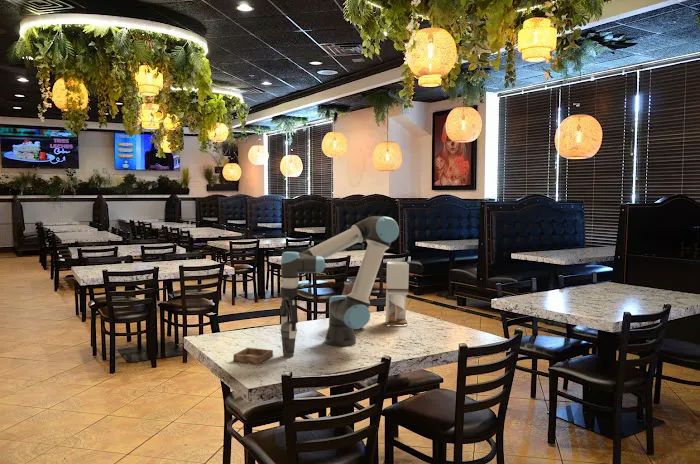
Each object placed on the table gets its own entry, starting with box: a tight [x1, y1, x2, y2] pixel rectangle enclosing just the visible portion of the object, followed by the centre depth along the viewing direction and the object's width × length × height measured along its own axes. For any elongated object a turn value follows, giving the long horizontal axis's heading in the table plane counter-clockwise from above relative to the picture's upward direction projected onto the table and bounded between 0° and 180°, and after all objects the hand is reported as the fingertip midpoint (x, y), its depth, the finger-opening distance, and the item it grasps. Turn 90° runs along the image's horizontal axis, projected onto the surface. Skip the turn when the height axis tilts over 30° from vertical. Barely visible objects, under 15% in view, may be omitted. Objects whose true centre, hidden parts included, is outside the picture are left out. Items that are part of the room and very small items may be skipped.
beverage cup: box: [280, 320, 298, 359], centre depth 239 cm, size 7×7×20 cm
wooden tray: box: [232, 347, 274, 366], centre depth 234 cm, size 12×12×3 cm
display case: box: [385, 261, 410, 326], centre depth 306 cm, size 11×11×35 cm
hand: (288, 334), depth 239 cm, fingers open, 13 cm apart
